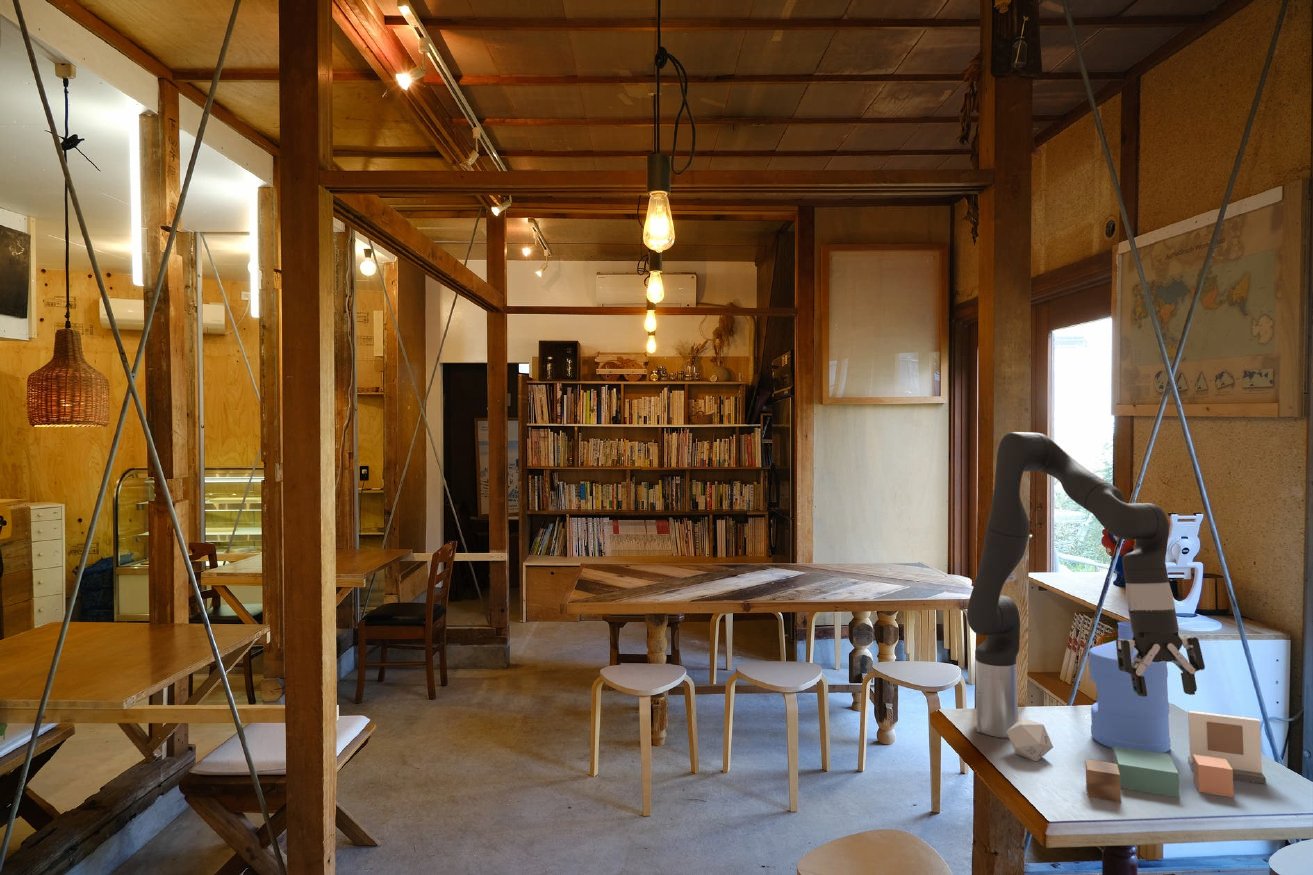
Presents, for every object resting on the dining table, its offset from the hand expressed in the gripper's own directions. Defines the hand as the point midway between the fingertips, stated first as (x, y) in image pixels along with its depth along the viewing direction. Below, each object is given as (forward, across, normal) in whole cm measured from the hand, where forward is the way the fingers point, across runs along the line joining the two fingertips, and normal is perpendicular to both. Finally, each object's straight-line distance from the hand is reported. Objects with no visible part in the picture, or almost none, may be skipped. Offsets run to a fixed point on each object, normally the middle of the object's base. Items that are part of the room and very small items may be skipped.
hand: (1165, 694), depth 134 cm
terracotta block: (+22, -15, -16) cm, 31 cm away
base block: (+21, -3, -18) cm, 28 cm away
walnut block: (+21, +8, -12) cm, 26 cm away
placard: (+21, -22, -24) cm, 39 cm away
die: (+18, +15, -30) cm, 38 cm away
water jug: (+18, -12, -39) cm, 44 cm away
